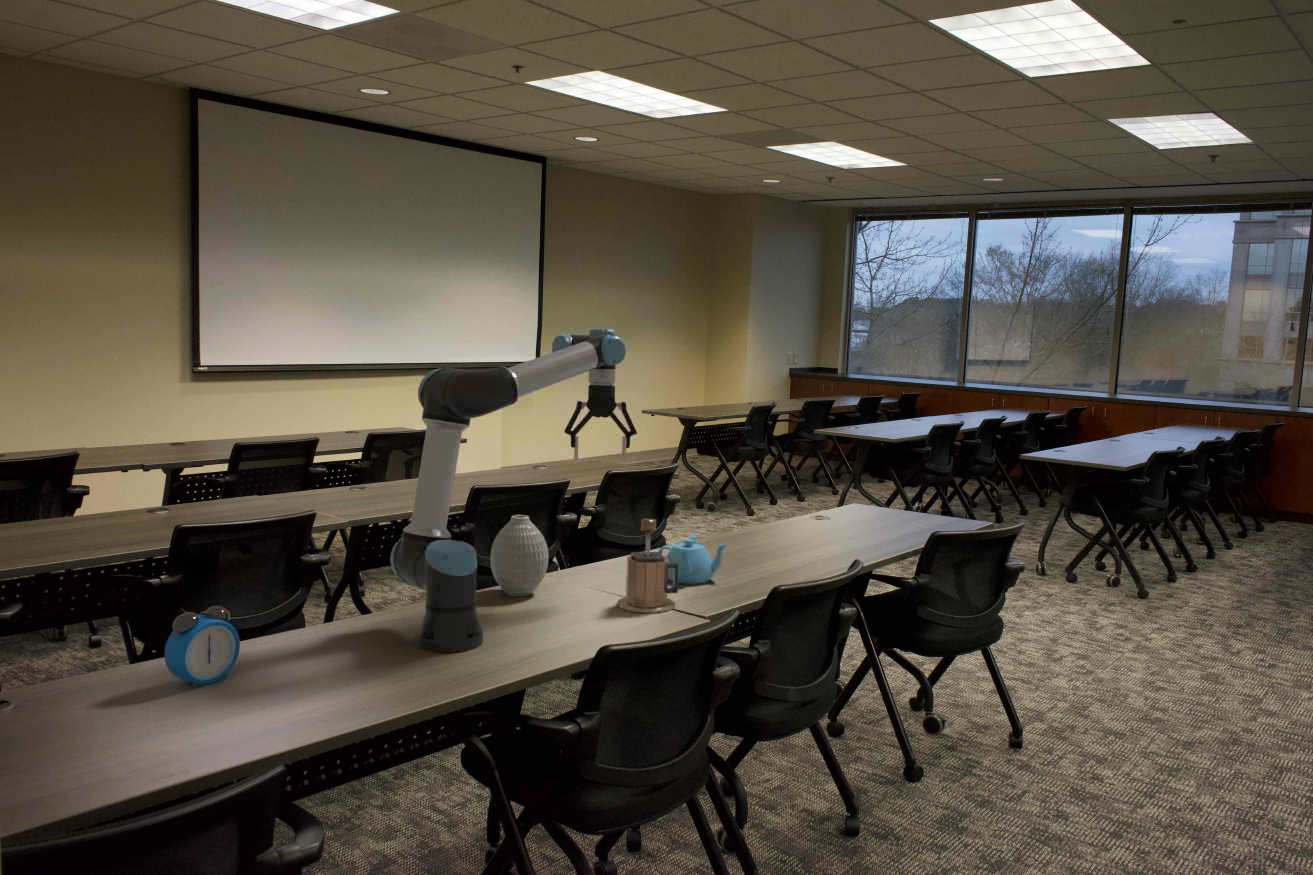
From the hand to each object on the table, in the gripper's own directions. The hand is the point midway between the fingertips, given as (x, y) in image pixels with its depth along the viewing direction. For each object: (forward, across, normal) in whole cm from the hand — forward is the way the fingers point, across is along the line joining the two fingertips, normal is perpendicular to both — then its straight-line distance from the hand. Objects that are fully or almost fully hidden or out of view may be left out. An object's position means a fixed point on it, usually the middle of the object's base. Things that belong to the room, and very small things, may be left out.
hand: (600, 459), depth 262 cm
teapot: (+39, +31, +14) cm, 52 cm away
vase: (+39, -22, +2) cm, 45 cm away
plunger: (+35, +12, -13) cm, 39 cm away
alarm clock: (+39, -89, -60) cm, 114 cm away
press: (+39, +12, -13) cm, 43 cm away
